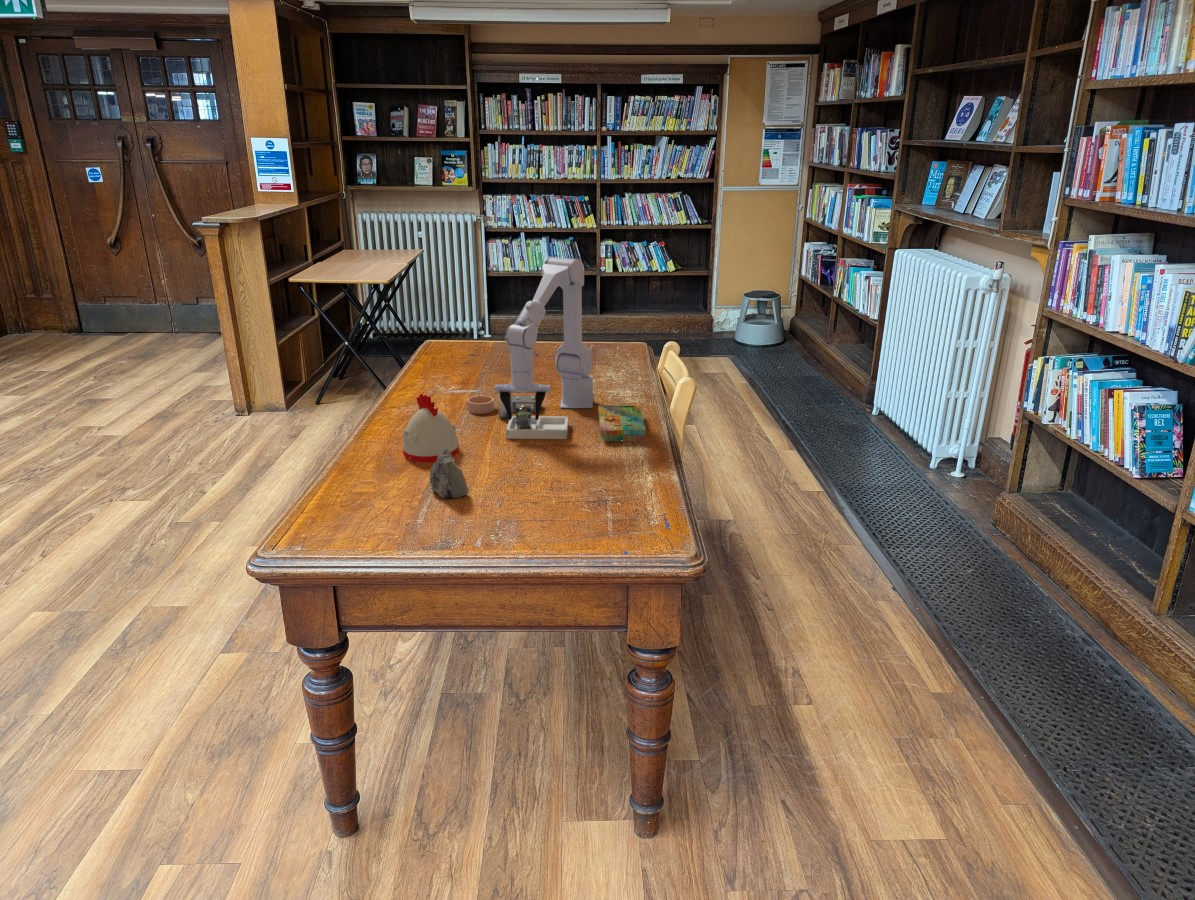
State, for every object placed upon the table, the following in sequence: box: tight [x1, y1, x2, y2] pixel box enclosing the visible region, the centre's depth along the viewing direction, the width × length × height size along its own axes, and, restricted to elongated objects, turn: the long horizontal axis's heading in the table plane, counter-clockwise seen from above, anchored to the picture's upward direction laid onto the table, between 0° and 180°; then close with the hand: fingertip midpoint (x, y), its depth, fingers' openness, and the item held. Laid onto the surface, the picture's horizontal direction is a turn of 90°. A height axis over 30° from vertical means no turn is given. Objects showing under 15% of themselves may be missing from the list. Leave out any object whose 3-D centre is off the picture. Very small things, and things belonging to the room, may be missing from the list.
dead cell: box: [497, 395, 514, 421], centre depth 229 cm, size 4×4×6 cm
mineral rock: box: [429, 449, 469, 500], centre depth 184 cm, size 13×11×10 cm
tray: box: [505, 415, 569, 440], centre depth 220 cm, size 16×11×2 cm
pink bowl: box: [466, 395, 496, 415], centre depth 236 cm, size 8×8×3 cm
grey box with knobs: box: [511, 395, 536, 413], centre depth 237 cm, size 8×6×3 cm
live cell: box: [515, 405, 532, 429], centre depth 219 cm, size 4×4×6 cm
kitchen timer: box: [402, 393, 460, 463], centre depth 204 cm, size 14×14×15 cm
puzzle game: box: [597, 404, 647, 442], centre depth 221 cm, size 12×5×20 cm
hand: (523, 418), depth 219 cm, fingers open, 7 cm apart
